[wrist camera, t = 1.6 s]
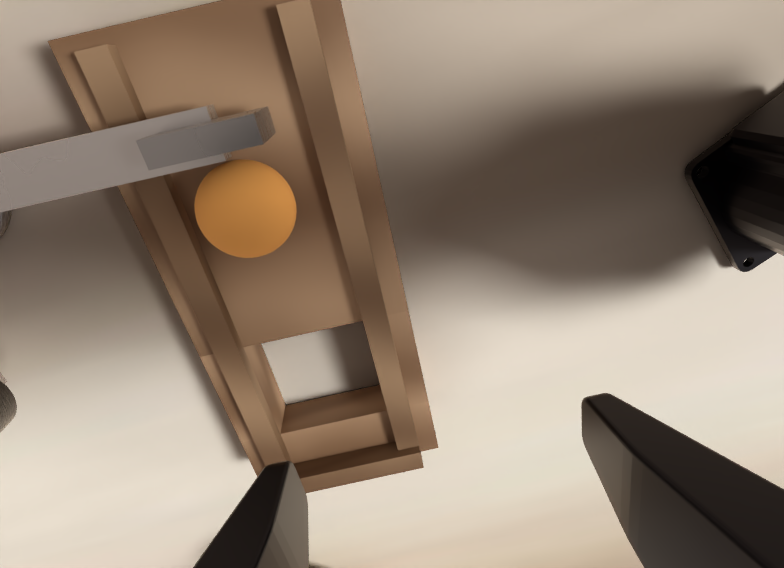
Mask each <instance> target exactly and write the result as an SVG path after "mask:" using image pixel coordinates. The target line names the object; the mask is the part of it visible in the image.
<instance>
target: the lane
mask: <svg viewBox="0 0 784 568" xmlns="http://www.w3.org/2000/svg"><path fill="white" fill-rule="evenodd" d="M48 43H49V45H50V47H51V49H52V51H53V53H54V55H55V57H56V59H57V62H58V64H59V66H60V68H61V70H62V72H63V74H64V76H65V78H66V80H67V82H68V84H69V86H70V89H71V91H72V93H73V95H74V97H75V99H76V101H77V103H78V105H79V107H80V109H81V111H82V113H83V116H84V118H85V120H86V122H87V124H88V126H89V128H90V130H91V132H94V131H99V130H103V129H107V128H112V127H116V126H120V125H125V124H129V123H133V122H138V121H142V120H146V119H151V118H155V117H159V116H164V115H168V114H172V113H177V112H181V111H185V110H190V109H194V108H199V107H203V106H207V105H212V104H213V105H214V108H215V111H216V113H217V116H218V118H219V117H223V116H227V115H232V114H236V113H240V112H245V111H249V110H253V109H258V108H262V107H266V106H268V107H269V111H270V114H271V117H272V120H273V124H274V127H275V130H276V133H275V134H274V135H273V136H272V137H271V138H270V139H269V140H268V141H267V142H265V143H264V144H263V145H258V146H254V147H250V148H245V149H241V150H237V151H232V152H230V153H231V155H232V156H231V157H230V158H229V159H228V160H226V161H223V162H219V163H215V164H210V165H206V166H201V167H197V168H193V169H188V170H184V171H180V172H175V173H171V174H166V175H162V176H158V177H153V178H149V179H145V180H140V181H136V182H131V183H127V184H123V185H118V188H119V190H120V192H121V194H122V197H123V199H124V201H125V203H126V205H127V207H128V209H129V211H130V213H131V215H132V217H133V219H134V221H135V224H136V226H137V228H138V230H139V232H140V234H141V236H142V238H143V240H144V242H145V244H146V246H147V248H148V251H149V253H150V255H151V257H152V259H153V261H154V263H155V265H156V267H157V269H158V271H159V273H160V275H161V278H162V280H163V282H164V284H165V286H166V288H167V290H168V292H169V294H170V296H171V298H172V300H173V302H174V305H175V307H176V309H177V311H178V313H179V315H180V317H181V319H182V321H183V323H184V325H185V327H186V329H187V332H188V334H189V336H190V338H191V340H192V342H193V344H194V346H195V348H196V350H197V352H198V354H199V356H200V359H201V361H202V363H203V365H204V367H205V369H206V371H207V373H208V375H209V377H210V379H211V381H212V383H213V386H214V388H215V390H216V392H217V394H218V396H219V398H220V400H221V402H222V404H223V406H224V408H225V410H226V412H227V415H228V417H229V419H230V421H231V423H232V425H233V427H234V429H235V431H236V433H237V435H238V437H239V439H240V442H241V444H242V446H243V448H244V450H245V452H246V454H247V456H248V458H249V460H250V462H251V464H252V466H253V469H254V471H255V473H256V475H257V477H258V476H259V474H260V473H261V471H262V470H263V469H264V468H265V467H266V466H267V465H269V464H272V463H277V462H282V461H287V460H288V461H291V462H292V463H293V464H294V466H295V468H296V471H297V473H298V476H299V478H300V480H301V483H302V485H303V488H304V490H305V493H309V492H313V491H318V490H323V489H327V488H332V487H336V486H341V485H346V484H350V483H355V482H359V481H364V480H368V479H373V478H378V477H382V476H387V475H391V474H396V473H401V472H405V471H410V470H414V469H419V468H424V467H423V462H422V456H421V451H425V450H430V449H434V448H438V444H437V439H436V435H435V430H434V425H433V421H432V416H431V412H430V407H429V403H428V398H427V394H426V389H425V384H424V380H423V375H422V371H421V366H420V362H419V357H418V352H417V348H416V343H415V339H414V334H413V330H412V325H411V320H410V316H409V311H408V307H407V302H406V298H405V293H404V288H403V284H402V279H401V275H400V270H399V266H398V261H397V256H396V252H395V247H394V243H393V238H392V234H391V229H390V224H389V220H388V215H387V211H386V206H385V202H384V197H383V193H382V188H381V183H380V179H379V174H378V170H377V165H376V161H375V156H374V151H373V147H372V142H371V138H370V133H369V129H368V124H367V119H366V115H365V110H364V106H363V101H362V97H361V92H360V87H359V83H358V78H357V74H356V69H355V65H354V60H353V55H352V51H351V46H350V42H349V37H348V33H347V28H346V23H345V19H344V14H343V10H342V5H341V1H340V0H221V1H217V2H213V3H209V4H204V5H200V6H196V7H191V8H187V9H183V10H179V11H174V12H170V13H166V14H161V15H157V16H153V17H149V18H144V19H140V20H136V21H131V22H127V23H123V24H119V25H114V26H110V27H106V28H101V29H97V30H93V31H89V32H84V33H80V34H76V35H71V36H67V37H63V38H59V39H54V40H50V41H48ZM239 159H242V160H254V161H258V162H261V163H263V164H266V165H268V166H270V167H271V168H273V169H274V170H276V171H277V172H278V173H279V174H280V175H282V177H283V178H284V179H285V180H286V181H287V183H288V184H289V186H290V188H291V190H292V192H293V195H294V197H295V201H296V209H297V212H296V221H295V225H294V228H293V230H292V232H291V234H290V236H289V237H288V239H287V240H286V241H285V242H284V243H283V244H282V245H281V246H280V247H279V248H277V249H276V250H275V251H273V252H271V253H269V254H266V255H264V256H260V257H254V258H241V257H236V256H232V255H229V254H227V253H225V252H223V251H221V250H219V249H218V248H216V247H215V246H214V245H212V244H211V243H210V242H209V241H208V240H207V238H206V237H205V236H204V235H203V233H202V231H201V230H200V228H199V226H198V223H197V220H196V216H195V207H194V204H195V197H196V193H197V190H198V187H199V185H200V183H201V182H202V180H203V179H204V178H205V176H206V175H207V174H208V173H209V172H210V171H211V170H213V169H214V168H215V167H217V166H219V165H221V164H223V163H225V162H228V161H232V160H239ZM360 321H363V324H364V328H365V331H366V335H367V339H368V342H369V346H370V350H371V353H372V357H373V361H374V364H375V368H376V372H377V375H378V379H379V382H380V385H376V386H372V387H367V388H363V389H358V390H353V391H349V392H344V393H340V394H335V395H331V396H326V397H322V398H317V399H313V400H308V401H304V402H299V403H295V404H290V405H285V402H284V400H283V397H282V395H281V392H280V390H279V387H278V385H277V382H276V380H275V377H274V375H273V372H272V370H271V368H270V365H269V363H268V360H267V358H266V355H265V353H264V350H263V348H262V345H261V343H265V342H270V341H274V340H279V339H283V338H288V337H292V336H297V335H301V334H306V333H310V332H315V331H319V330H324V329H328V328H333V327H337V326H342V325H346V324H351V323H355V322H360Z"/></svg>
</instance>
